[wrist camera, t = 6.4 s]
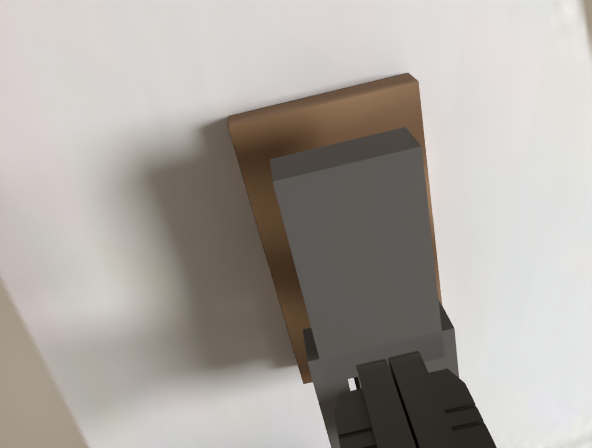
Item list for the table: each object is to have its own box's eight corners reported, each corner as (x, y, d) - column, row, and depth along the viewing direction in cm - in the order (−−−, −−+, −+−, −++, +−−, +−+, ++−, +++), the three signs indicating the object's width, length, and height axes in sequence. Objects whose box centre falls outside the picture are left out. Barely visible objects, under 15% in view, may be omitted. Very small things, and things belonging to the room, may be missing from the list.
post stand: (228, 116, 23) (193, 568, 7) (408, 73, 23) (834, 427, 6) (300, 364, 31) (370, 879, 14) (438, 333, 30) (675, 818, 14)
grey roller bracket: (256, 162, 19) (257, 185, 18) (419, 123, 19) (436, 142, 17) (328, 422, 26) (334, 457, 24) (448, 395, 26) (463, 428, 24)
